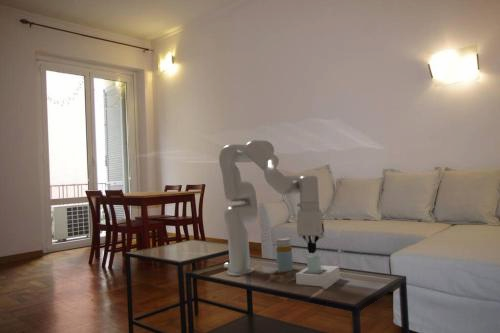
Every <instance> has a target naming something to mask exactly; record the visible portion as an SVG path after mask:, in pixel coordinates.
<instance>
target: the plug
mask: <svg viewBox="0 0 500 333" xmlns="http://www.w3.org/2000/svg"><path fill="white" fill-rule="evenodd" d="M321 261H322V260H321V255H314V254H311V255H308V256H307V257H306V262H307V267H308V273H320V272H321V265H322V262H321Z"/></svg>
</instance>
